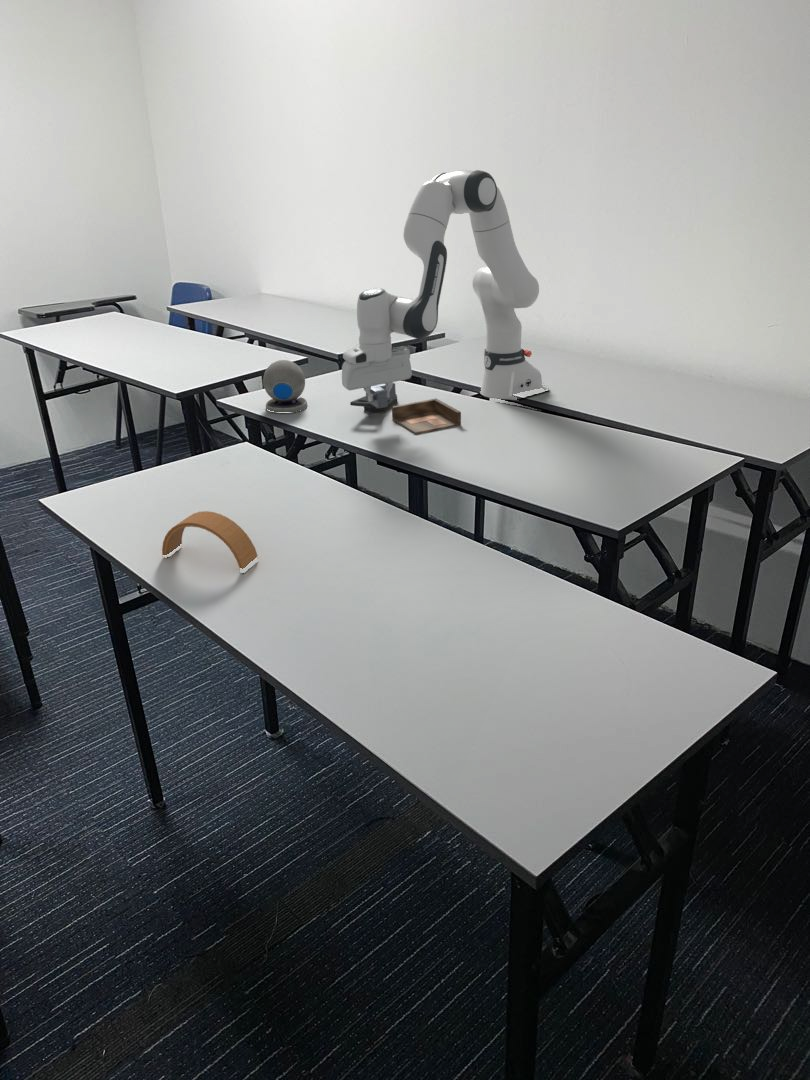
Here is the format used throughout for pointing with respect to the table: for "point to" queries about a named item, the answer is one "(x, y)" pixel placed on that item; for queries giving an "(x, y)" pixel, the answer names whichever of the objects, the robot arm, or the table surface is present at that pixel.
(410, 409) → the corner arena
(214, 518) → the arch
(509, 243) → the robot arm
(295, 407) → the webcam
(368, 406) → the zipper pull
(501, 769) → the table surface
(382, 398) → the angle bracket
